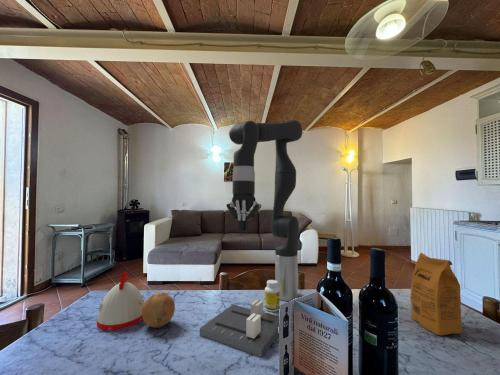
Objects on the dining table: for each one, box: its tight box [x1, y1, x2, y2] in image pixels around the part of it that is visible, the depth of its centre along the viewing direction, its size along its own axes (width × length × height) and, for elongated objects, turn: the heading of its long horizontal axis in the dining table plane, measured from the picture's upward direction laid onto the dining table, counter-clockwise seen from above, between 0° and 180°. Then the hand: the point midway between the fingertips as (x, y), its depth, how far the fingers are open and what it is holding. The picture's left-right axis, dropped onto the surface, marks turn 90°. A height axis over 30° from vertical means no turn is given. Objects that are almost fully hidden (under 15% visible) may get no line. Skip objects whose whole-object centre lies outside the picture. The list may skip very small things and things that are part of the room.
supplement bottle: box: [264, 279, 280, 313], centre depth 85 cm, size 5×5×10 cm
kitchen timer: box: [96, 270, 145, 331], centre depth 77 cm, size 14×14×15 cm
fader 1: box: [250, 299, 264, 317], centre depth 74 cm, size 4×2×4 cm, turn 152°
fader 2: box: [246, 313, 261, 338], centre depth 64 cm, size 4×2×4 cm, turn 152°
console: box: [199, 304, 280, 358], centre depth 71 cm, size 18×20×2 cm
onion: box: [142, 291, 176, 329], centre depth 73 cm, size 10×10×10 cm
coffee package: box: [410, 252, 463, 336], centre depth 74 cm, size 10×12×22 cm
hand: (243, 231), depth 77 cm, fingers closed
